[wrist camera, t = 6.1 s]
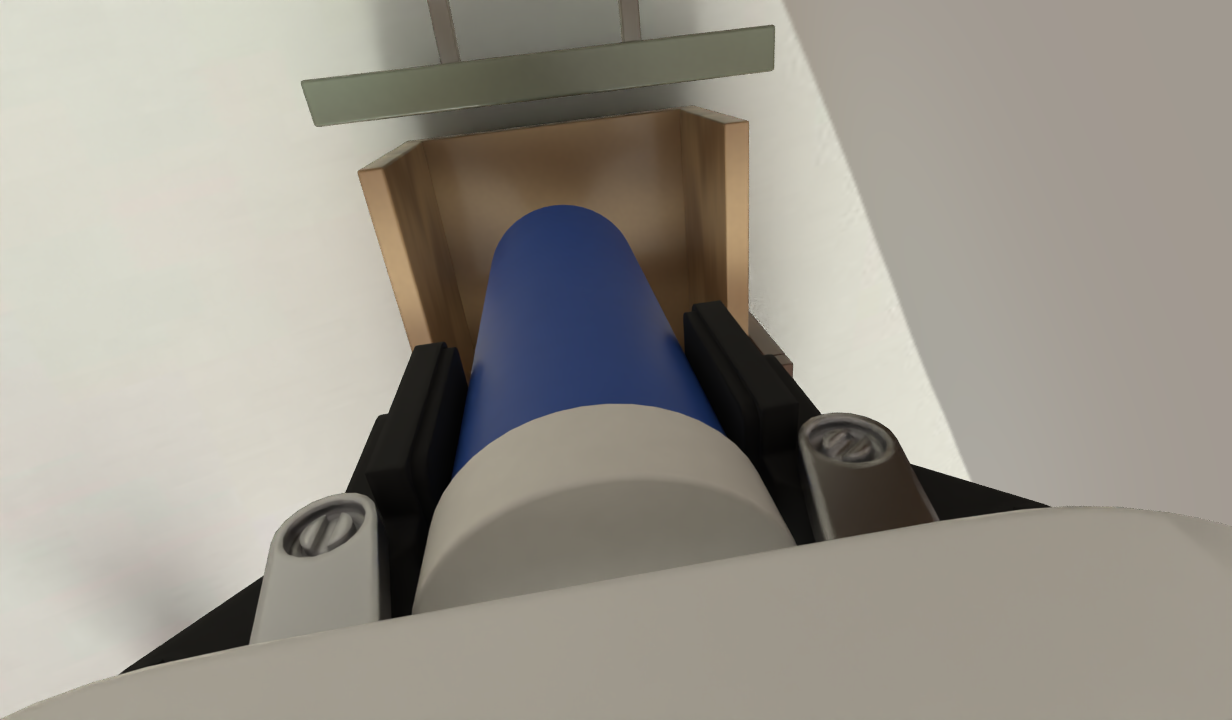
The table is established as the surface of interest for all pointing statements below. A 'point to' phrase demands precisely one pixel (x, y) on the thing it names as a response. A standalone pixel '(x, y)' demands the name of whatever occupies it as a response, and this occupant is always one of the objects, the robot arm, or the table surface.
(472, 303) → the drawer
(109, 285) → the table surface
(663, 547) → the pill bottle
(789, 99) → the table surface
